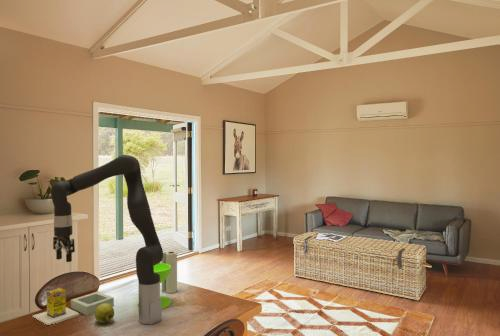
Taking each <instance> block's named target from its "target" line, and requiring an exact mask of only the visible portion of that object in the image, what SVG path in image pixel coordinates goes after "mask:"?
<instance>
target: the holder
mask: <svg viewBox="0 0 500 336" xmlns="http://www.w3.org/2000/svg"><path fill="white" fill-rule="evenodd" d="M114 298H115V297H113V296H110V295H108V294H106V293H102V292H99V291H95V292H92V293H89V294H86V295H82V296H79V297H75V298H72V299H70V309H71V310H73V311H75V312H78V313H79V314H80V313H81V314H83V315H84V316H89V315H93V314H95V311H96V309H97V307H98V306H99V305H101V304H104V303H108V304H110V305H111V306H112V307H114V306H115V305H114V304H115V303H114V302H115V301H114V300H115V299H114Z"/></svg>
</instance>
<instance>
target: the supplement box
mask: <svg viewBox="0 0 500 336" xmlns="http://www.w3.org/2000/svg"><path fill="white" fill-rule="evenodd" d="M66 293H67V291H66V289H63V288H61V287H58V288H55V289H52V290H48V291H46V311H47V315H48V316H50V317H52V318H55V317H57V316H60V315H63V314H66V307H67V294H66Z"/></svg>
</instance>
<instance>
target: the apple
mask: <svg viewBox="0 0 500 336" xmlns="http://www.w3.org/2000/svg"><path fill="white" fill-rule="evenodd" d="M114 316H115V309H114V306H111V305H110V304H108V303H104V304H101V305H99V306H98V307H97V309H96V311H95V313H94V318H95V320H96V321H97V323H101V324H106V323H109V322H110V321H111V320H113V318H114Z"/></svg>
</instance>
